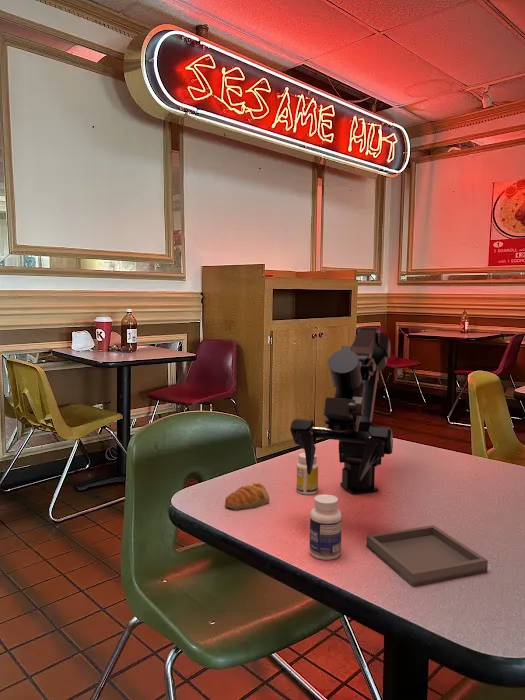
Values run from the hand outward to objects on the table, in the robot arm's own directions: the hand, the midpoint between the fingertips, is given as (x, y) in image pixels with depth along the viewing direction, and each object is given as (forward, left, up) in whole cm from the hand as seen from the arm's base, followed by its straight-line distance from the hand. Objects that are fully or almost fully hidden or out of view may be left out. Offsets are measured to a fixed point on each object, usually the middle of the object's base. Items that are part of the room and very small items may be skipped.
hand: (333, 476), depth 98 cm
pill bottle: (+4, +4, -12) cm, 13 cm away
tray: (-11, +11, -12) cm, 20 cm away
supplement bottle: (-5, -24, -12) cm, 27 cm away
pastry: (+9, -21, -12) cm, 26 cm away
